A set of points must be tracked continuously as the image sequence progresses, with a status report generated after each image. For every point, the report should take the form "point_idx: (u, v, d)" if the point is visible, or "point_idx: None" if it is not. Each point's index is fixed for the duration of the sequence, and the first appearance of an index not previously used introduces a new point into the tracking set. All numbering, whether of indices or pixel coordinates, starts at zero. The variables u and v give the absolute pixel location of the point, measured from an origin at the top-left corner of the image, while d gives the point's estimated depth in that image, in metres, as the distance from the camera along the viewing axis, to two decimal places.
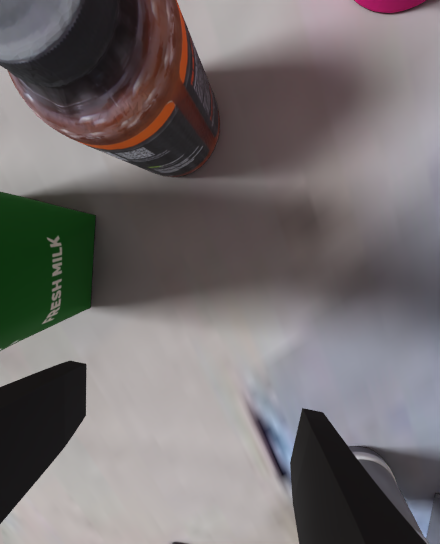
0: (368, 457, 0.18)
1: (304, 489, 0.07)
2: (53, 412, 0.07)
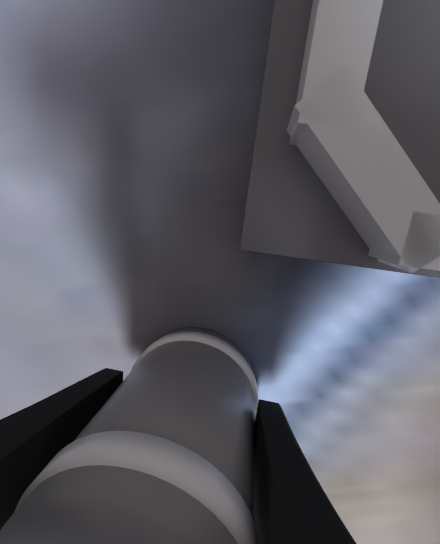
0: None
1: None
2: None
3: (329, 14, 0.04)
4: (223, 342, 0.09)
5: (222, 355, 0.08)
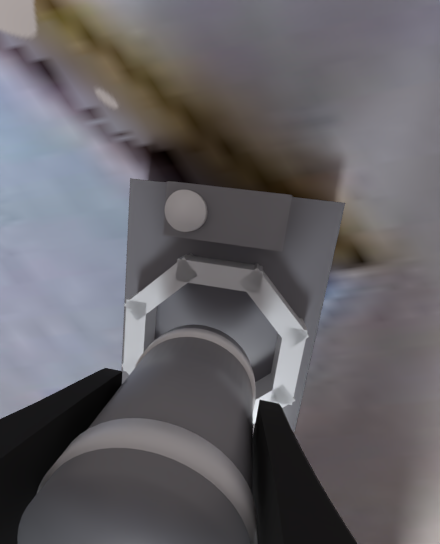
0: None
1: (254, 477, 0.07)
2: None
3: (128, 341, 0.13)
4: (227, 341, 0.09)
5: (227, 353, 0.09)
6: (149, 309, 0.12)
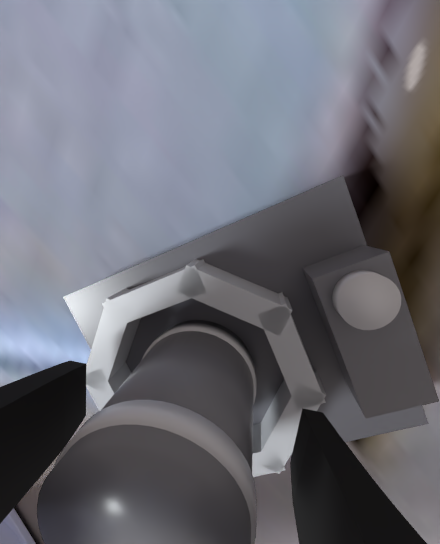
0: None
1: (304, 489, 0.07)
2: (53, 411, 0.07)
3: (143, 292, 0.09)
4: (229, 335, 0.10)
5: (229, 346, 0.09)
6: (200, 299, 0.09)
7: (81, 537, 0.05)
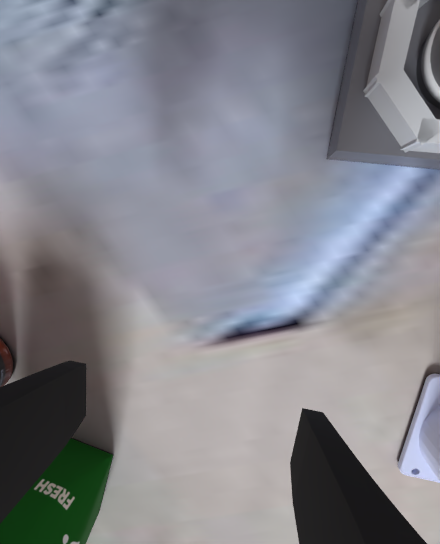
0: (435, 86, 0.12)
1: (304, 489, 0.07)
2: (53, 412, 0.07)
3: (390, 40, 0.11)
4: None
5: None
6: None
7: None
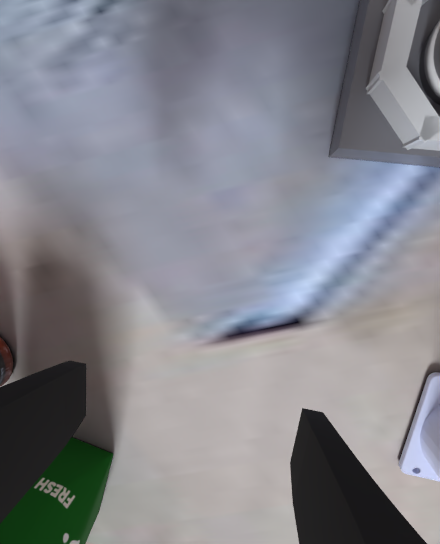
0: (438, 83, 0.12)
1: (304, 489, 0.07)
2: (53, 412, 0.07)
3: (393, 37, 0.11)
4: None
5: None
6: None
7: None
